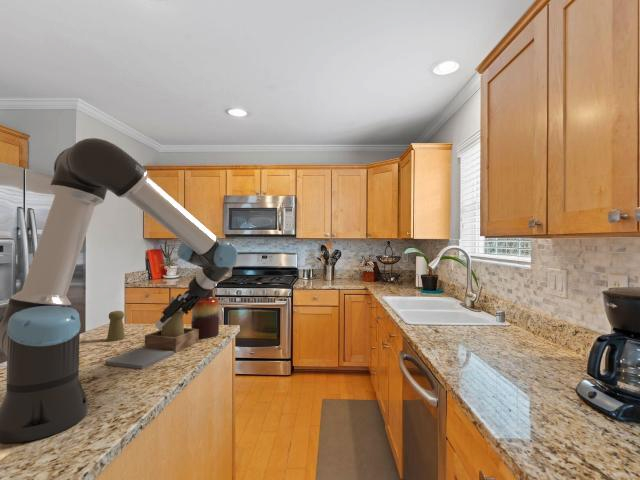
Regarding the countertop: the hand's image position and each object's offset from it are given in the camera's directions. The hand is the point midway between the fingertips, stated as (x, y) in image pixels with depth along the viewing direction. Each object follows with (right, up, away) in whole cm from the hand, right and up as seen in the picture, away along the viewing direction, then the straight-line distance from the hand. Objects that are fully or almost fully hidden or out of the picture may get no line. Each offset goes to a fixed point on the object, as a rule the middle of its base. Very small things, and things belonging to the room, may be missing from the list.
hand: (164, 324), depth 123 cm
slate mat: (0, -7, -16) cm, 17 cm away
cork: (-23, -8, +7) cm, 25 cm away
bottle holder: (+3, -8, -1) cm, 8 cm away
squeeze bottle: (+3, -8, -1) cm, 8 cm away
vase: (+10, -8, +14) cm, 19 cm away
